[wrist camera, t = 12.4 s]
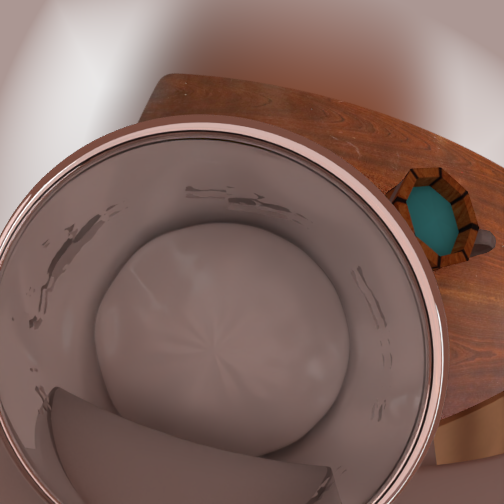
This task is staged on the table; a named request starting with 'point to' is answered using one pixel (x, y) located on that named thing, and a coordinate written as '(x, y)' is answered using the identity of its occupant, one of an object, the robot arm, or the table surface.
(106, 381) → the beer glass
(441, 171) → the mug
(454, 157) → the table surface
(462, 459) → the square wooden board
